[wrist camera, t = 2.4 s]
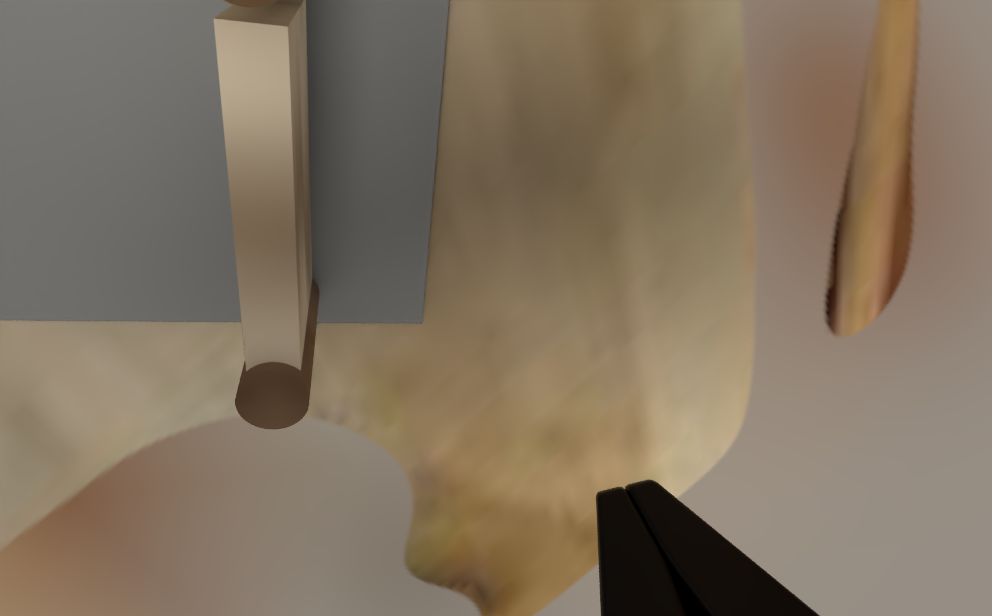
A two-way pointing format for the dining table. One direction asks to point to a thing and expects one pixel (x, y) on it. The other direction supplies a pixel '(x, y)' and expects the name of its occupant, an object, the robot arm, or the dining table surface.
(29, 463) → the dining table surface
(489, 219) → the dining table surface
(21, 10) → the card
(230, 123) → the fence gate
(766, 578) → the robot arm
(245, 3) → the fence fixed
